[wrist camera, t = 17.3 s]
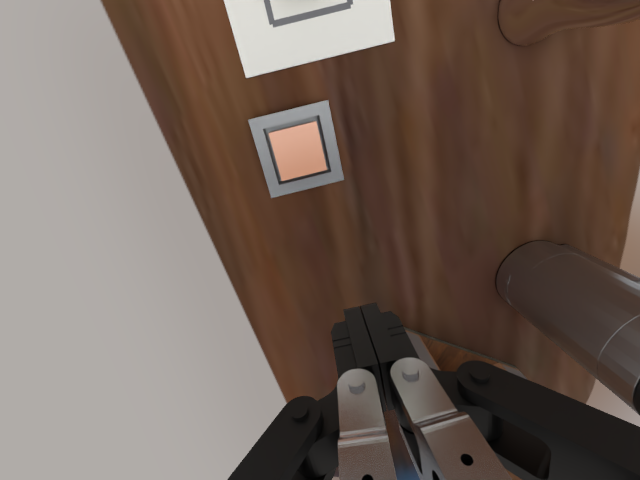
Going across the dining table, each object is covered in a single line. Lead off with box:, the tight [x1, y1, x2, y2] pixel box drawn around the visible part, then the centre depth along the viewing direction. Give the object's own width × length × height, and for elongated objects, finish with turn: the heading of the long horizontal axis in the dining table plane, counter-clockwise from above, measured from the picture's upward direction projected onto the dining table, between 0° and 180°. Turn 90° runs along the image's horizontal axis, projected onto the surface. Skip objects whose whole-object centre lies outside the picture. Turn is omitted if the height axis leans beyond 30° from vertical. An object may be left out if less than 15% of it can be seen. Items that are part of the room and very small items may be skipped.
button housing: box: [248, 100, 344, 198], centre depth 30 cm, size 7×7×4 cm
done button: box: [269, 121, 327, 181], centre depth 29 cm, size 4×4×2 cm
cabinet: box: [404, 327, 527, 480], centre depth 32 cm, size 21×10×28 cm, turn 65°
